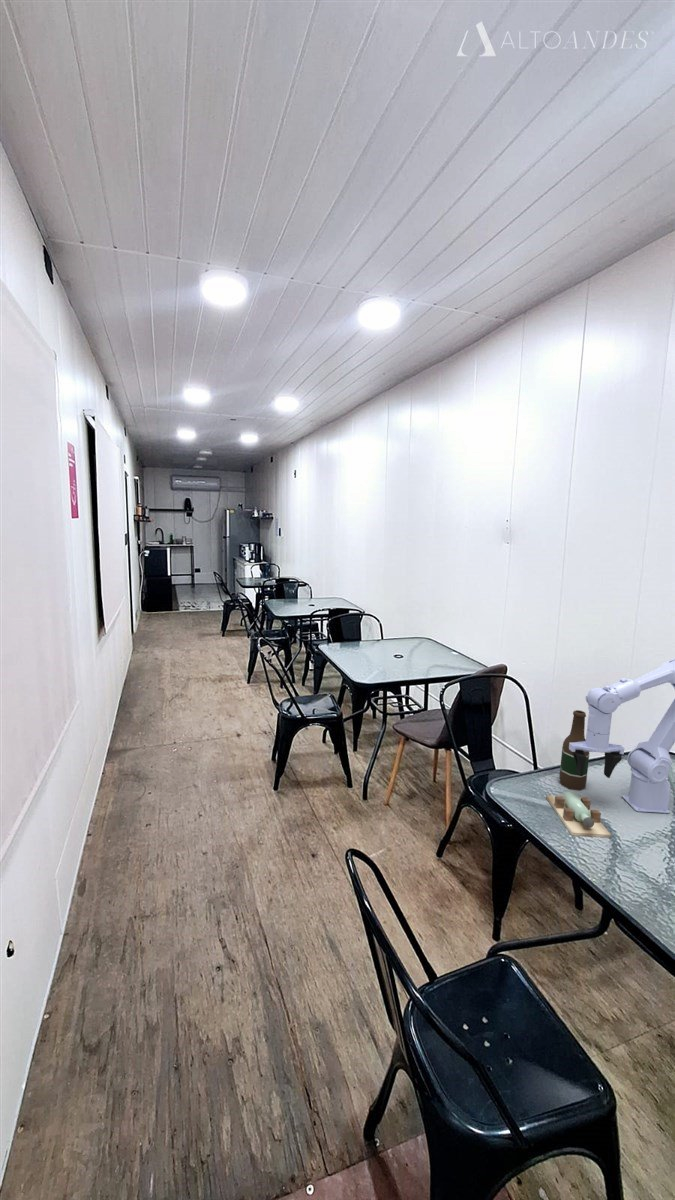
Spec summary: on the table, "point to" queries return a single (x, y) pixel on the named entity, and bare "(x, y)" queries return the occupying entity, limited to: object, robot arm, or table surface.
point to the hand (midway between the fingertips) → (593, 775)
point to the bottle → (578, 808)
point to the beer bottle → (568, 764)
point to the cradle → (572, 823)
